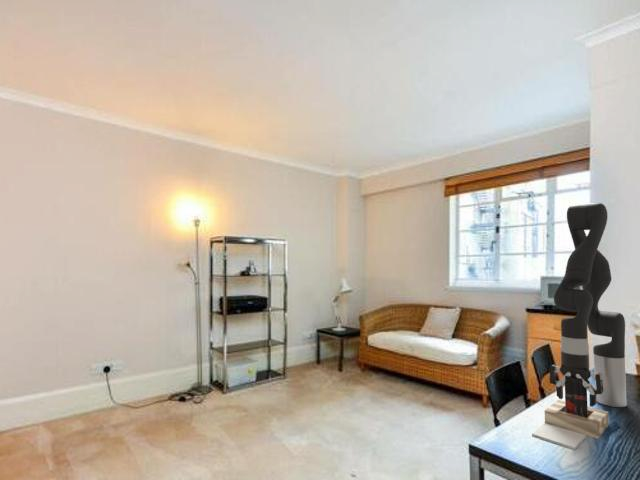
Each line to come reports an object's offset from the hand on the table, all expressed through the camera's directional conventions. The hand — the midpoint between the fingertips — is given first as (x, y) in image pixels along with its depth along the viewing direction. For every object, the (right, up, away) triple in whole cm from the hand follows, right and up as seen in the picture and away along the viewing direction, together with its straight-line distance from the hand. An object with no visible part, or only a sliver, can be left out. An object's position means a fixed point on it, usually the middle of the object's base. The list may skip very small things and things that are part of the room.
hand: (576, 402), depth 121 cm
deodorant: (0, -7, 0) cm, 7 cm away
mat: (-11, -6, -9) cm, 15 cm away
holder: (0, -7, 0) cm, 7 cm away
